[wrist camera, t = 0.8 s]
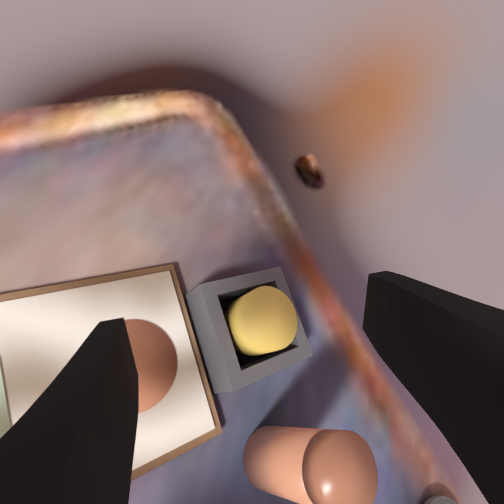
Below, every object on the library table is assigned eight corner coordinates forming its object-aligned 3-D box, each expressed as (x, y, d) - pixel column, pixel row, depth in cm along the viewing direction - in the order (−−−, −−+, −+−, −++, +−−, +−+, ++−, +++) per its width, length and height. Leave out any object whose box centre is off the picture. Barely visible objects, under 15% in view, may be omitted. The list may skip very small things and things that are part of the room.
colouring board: (218, 432, 23) (224, 432, 23) (-197, 648, 13) (-210, 662, 12) (170, 266, 26) (174, 262, 25) (-207, 334, 15) (-218, 330, 15)
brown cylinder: (298, 472, 25) (387, 493, 19) (254, 503, 23) (339, 539, 16) (279, 416, 26) (358, 417, 20) (235, 440, 24) (309, 451, 17)
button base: (289, 360, 28) (313, 355, 26) (213, 394, 24) (233, 391, 22) (261, 277, 30) (280, 266, 27) (184, 295, 26) (199, 284, 23)
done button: (283, 345, 26) (306, 339, 24) (235, 364, 24) (255, 360, 22) (264, 290, 27) (284, 280, 25) (216, 303, 25) (233, 293, 23)
